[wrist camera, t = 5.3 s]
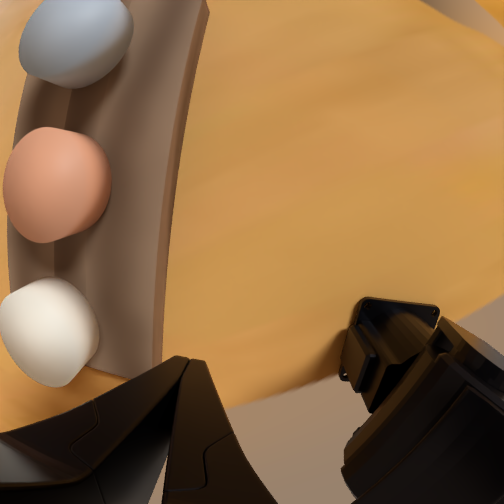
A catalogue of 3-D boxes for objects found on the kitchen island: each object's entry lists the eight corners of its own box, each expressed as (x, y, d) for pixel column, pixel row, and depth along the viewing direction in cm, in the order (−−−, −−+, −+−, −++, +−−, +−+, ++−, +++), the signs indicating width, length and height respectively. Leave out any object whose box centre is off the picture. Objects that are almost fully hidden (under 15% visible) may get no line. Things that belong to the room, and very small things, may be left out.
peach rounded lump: (136, 139, 18) (92, 126, 13) (125, 232, 20) (80, 251, 14) (62, 137, 18) (9, 128, 13) (54, 221, 20) (1, 235, 14)
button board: (209, 12, 16) (203, -6, 14) (161, 365, 22) (152, 384, 19) (63, 24, 16) (47, 13, 14) (33, 328, 22) (17, 340, 19)
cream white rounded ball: (117, 273, 19) (71, 306, 13) (118, 353, 20) (82, 400, 15) (46, 258, 19) (-7, 281, 13) (51, 333, 20) (8, 368, 15)
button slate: (158, 16, 15) (127, -30, 10) (138, 98, 17) (93, 70, 11) (82, 24, 15) (39, -9, 10) (61, 100, 17) (7, 82, 11)
